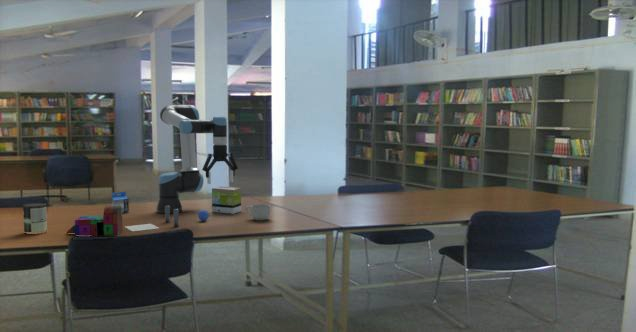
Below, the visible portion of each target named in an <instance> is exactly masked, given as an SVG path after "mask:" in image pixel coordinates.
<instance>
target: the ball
mask: <svg viewBox="0 0 636 332" xmlns="http://www.w3.org/2000/svg"><path fill="white" fill-rule="evenodd" d="M197 213H198V214H197V217H198V218H197V219H199V221H203V222H205V221H207V220H208V219H209V218H210V217H209V216H210V214H209V211H207V210H206V209H201V210H200V211H199V212H197Z"/></svg>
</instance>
